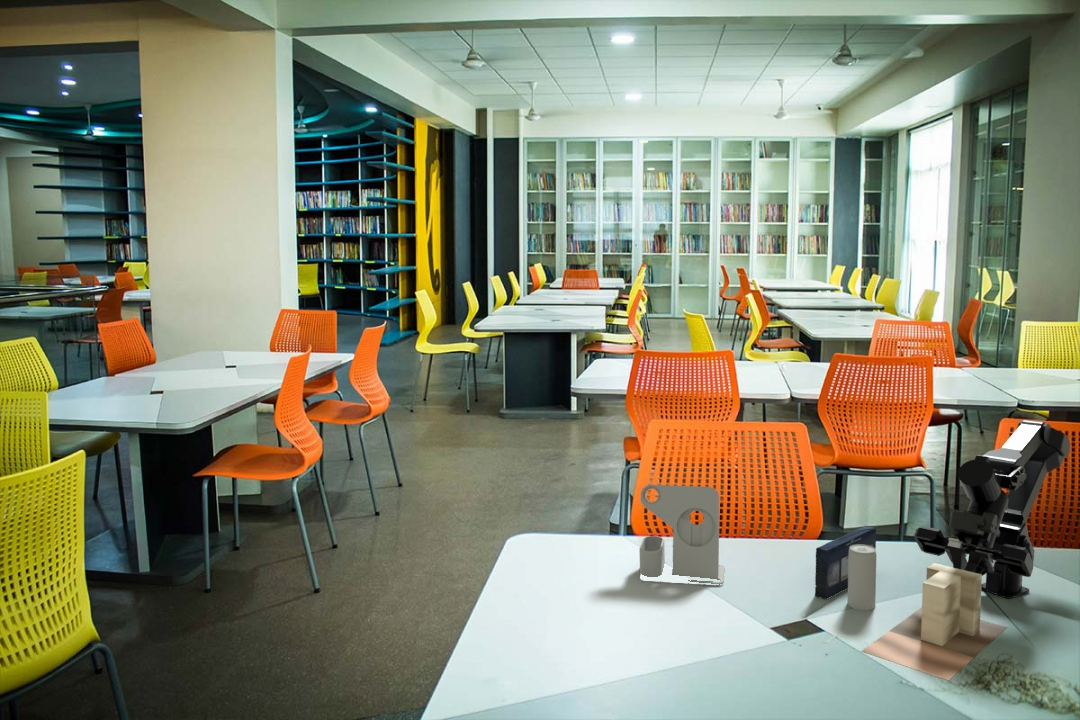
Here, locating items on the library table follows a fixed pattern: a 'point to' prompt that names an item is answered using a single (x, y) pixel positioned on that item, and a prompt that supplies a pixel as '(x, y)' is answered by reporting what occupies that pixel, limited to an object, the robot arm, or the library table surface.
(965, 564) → the robot arm
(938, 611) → the T block
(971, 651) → the board
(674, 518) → the phone holder
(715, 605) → the library table surface
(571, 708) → the library table surface
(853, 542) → the vhs cassette tape
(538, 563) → the library table surface
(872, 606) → the beverage can
